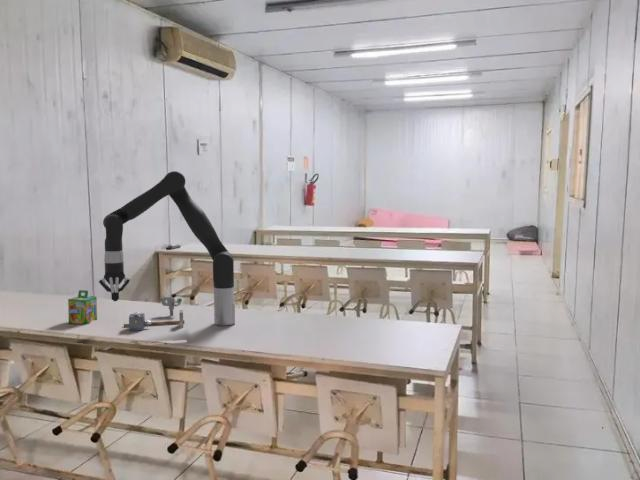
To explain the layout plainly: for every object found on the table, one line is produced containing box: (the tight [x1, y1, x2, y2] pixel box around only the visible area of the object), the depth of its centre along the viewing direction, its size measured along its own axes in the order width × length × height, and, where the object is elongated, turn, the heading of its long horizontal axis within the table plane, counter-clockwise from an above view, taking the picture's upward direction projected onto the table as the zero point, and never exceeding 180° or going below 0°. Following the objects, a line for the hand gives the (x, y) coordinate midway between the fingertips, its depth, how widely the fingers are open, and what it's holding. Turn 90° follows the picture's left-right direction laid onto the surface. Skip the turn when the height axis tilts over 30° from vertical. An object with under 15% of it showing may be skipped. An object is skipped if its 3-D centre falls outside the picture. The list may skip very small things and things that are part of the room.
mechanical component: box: [160, 296, 183, 317], centre depth 254 cm, size 3×10×10 cm, turn 79°
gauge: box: [128, 311, 153, 332], centre depth 229 cm, size 9×8×7 cm
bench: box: [123, 309, 185, 329], centre depth 232 cm, size 26×10×8 cm, turn 104°
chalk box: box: [67, 289, 98, 325], centre depth 247 cm, size 9×9×15 cm
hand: (115, 300), depth 227 cm, fingers closed
